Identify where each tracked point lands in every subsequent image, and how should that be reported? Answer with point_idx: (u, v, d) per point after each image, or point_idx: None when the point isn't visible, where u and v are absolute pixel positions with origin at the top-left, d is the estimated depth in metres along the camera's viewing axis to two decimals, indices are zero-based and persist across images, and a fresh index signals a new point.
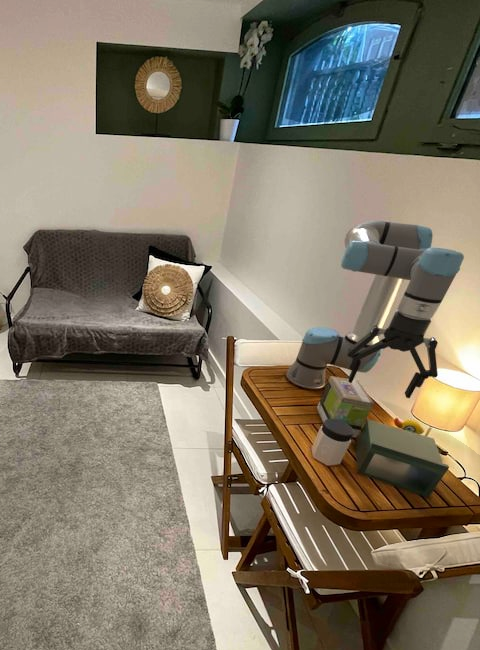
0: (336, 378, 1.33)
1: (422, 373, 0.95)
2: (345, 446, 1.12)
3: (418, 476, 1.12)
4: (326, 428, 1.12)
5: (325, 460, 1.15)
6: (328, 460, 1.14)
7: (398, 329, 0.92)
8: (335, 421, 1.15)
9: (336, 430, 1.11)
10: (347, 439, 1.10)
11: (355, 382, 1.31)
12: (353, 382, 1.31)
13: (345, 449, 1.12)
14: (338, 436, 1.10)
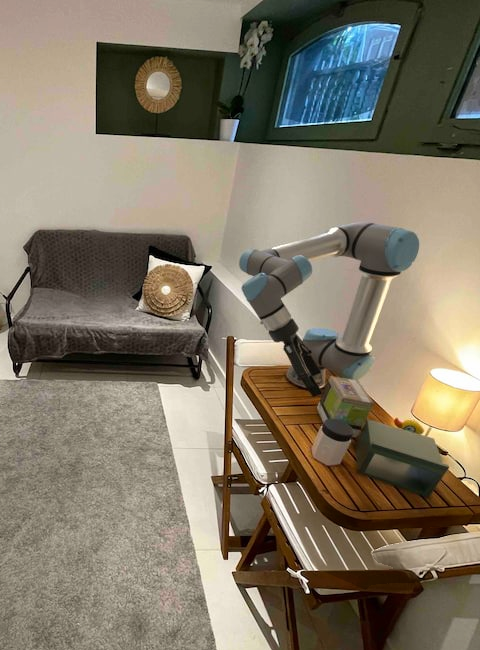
0: (336, 378, 1.33)
1: None
2: (345, 446, 1.12)
3: (418, 476, 1.12)
4: (326, 428, 1.12)
5: (325, 460, 1.15)
6: (328, 460, 1.14)
7: None
8: (335, 421, 1.15)
9: (336, 430, 1.11)
10: (347, 439, 1.10)
11: (355, 382, 1.31)
12: (353, 382, 1.31)
13: (345, 449, 1.12)
14: (338, 436, 1.10)
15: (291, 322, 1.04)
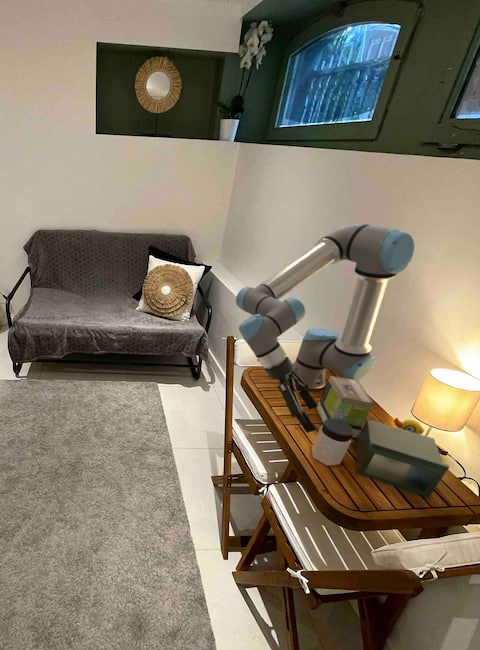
0: (336, 378, 1.33)
1: None
2: (345, 446, 1.12)
3: (418, 476, 1.12)
4: (326, 428, 1.12)
5: (325, 460, 1.15)
6: (328, 460, 1.14)
7: None
8: (335, 421, 1.15)
9: (336, 430, 1.11)
10: (347, 439, 1.10)
11: (355, 382, 1.31)
12: (353, 382, 1.31)
13: (345, 449, 1.12)
14: (338, 436, 1.10)
15: (286, 361, 1.10)
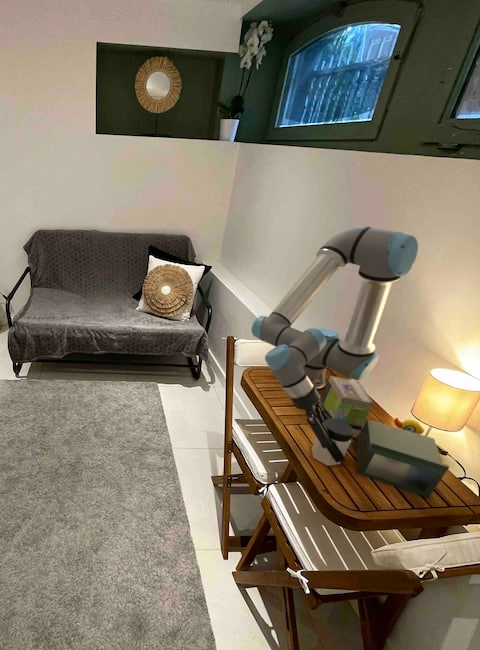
0: (336, 378, 1.33)
1: None
2: (345, 446, 1.12)
3: (418, 476, 1.12)
4: (326, 428, 1.12)
5: (325, 460, 1.15)
6: (328, 460, 1.14)
7: None
8: (335, 421, 1.15)
9: (336, 430, 1.11)
10: (347, 439, 1.10)
11: (355, 382, 1.31)
12: (353, 382, 1.31)
13: (345, 449, 1.12)
14: (338, 436, 1.10)
15: (313, 392, 1.10)
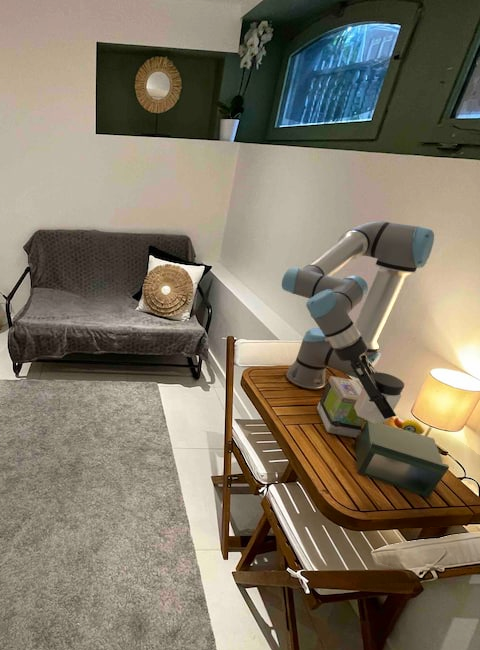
0: (336, 378, 1.33)
1: None
2: (395, 401, 1.02)
3: (418, 476, 1.12)
4: None
5: (371, 417, 1.05)
6: (375, 417, 1.04)
7: None
8: (383, 375, 1.05)
9: (385, 383, 1.01)
10: (397, 392, 1.00)
11: (355, 382, 1.31)
12: (353, 382, 1.31)
13: (394, 404, 1.02)
14: (388, 389, 1.00)
15: (360, 340, 1.00)
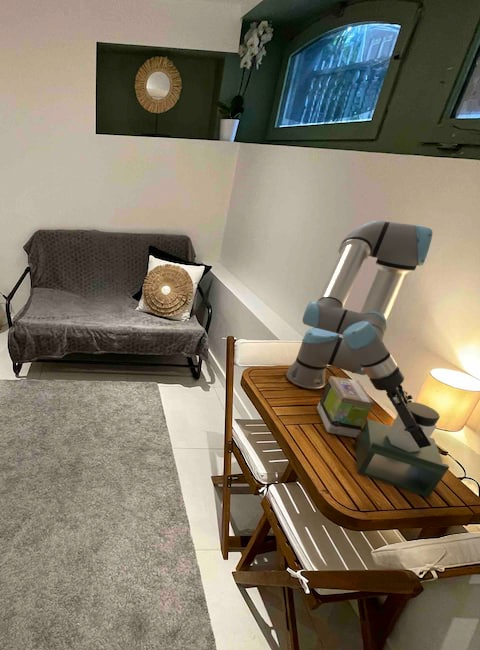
0: (336, 378, 1.33)
1: None
2: (430, 431, 1.04)
3: (418, 476, 1.12)
4: None
5: (406, 446, 1.07)
6: (410, 446, 1.06)
7: None
8: (417, 405, 1.07)
9: (421, 414, 1.03)
10: (433, 423, 1.02)
11: (355, 382, 1.31)
12: (353, 382, 1.31)
13: (429, 434, 1.05)
14: (424, 420, 1.02)
15: (397, 371, 1.02)
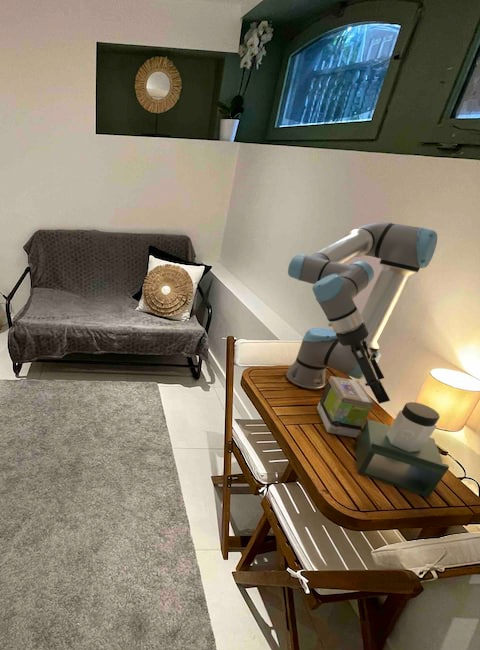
0: (336, 378, 1.33)
1: None
2: (430, 431, 1.04)
3: (418, 476, 1.12)
4: (409, 412, 1.04)
5: (406, 446, 1.07)
6: (410, 446, 1.06)
7: None
8: (417, 405, 1.07)
9: (421, 414, 1.03)
10: (433, 423, 1.02)
11: (355, 382, 1.31)
12: (353, 382, 1.31)
13: (429, 434, 1.05)
14: (424, 420, 1.02)
15: (363, 326, 1.02)
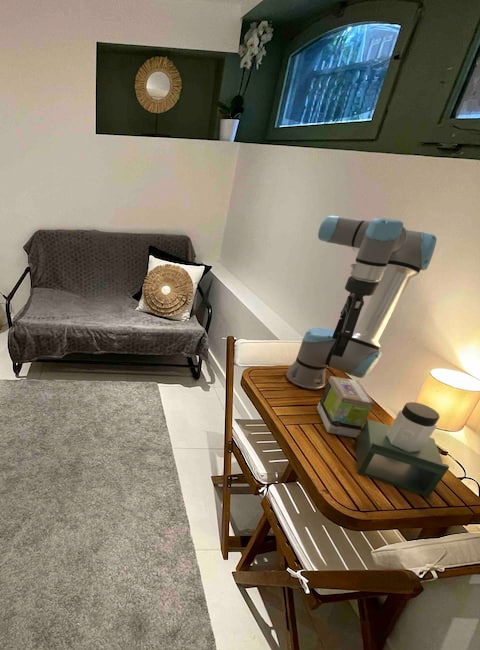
0: (336, 378, 1.33)
1: (341, 331, 1.06)
2: (430, 431, 1.04)
3: (418, 476, 1.12)
4: (409, 412, 1.04)
5: (406, 446, 1.07)
6: (410, 446, 1.06)
7: None
8: (417, 405, 1.07)
9: (421, 414, 1.03)
10: (433, 423, 1.02)
11: (355, 382, 1.31)
12: (353, 382, 1.31)
13: (429, 434, 1.05)
14: (424, 420, 1.02)
15: (377, 284, 1.02)
